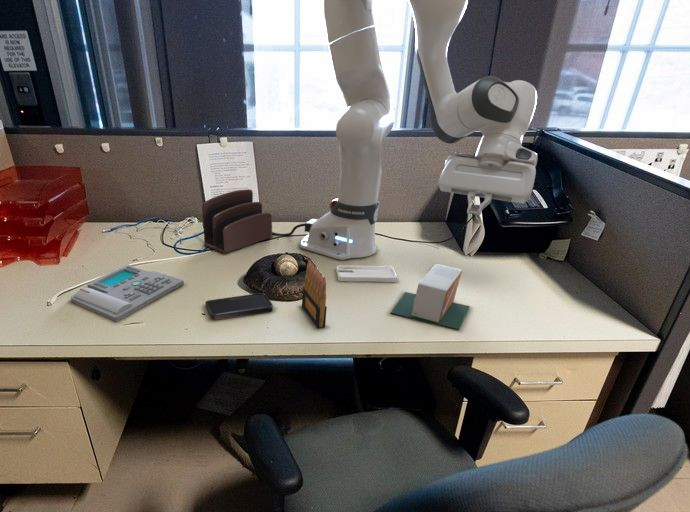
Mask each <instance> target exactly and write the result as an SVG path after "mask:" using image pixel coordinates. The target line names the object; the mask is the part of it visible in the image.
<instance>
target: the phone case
mask: <svg viewBox="0 0 690 512" xmlns="http://www.w3.org/2000/svg"><path fill="white" fill-rule="evenodd" d="M335 271H336V276H337V281H339V282H358V283H359V282H365V283H367V282H368V283H370V282H371V283H372V282H373V283H374V282H376V283H377V282H378V283H396V282H397V281H398V275H397V273H396V271H395V268H394V266H392V265H336V268H335ZM341 271H342V272H341Z"/></svg>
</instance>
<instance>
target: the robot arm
mask: <svg viewBox="0 0 690 512" xmlns="http://www.w3.org/2000/svg"><path fill="white" fill-rule="evenodd" d="M407 2H408V4H409V5H408V6H409V7H410V10H411V13H412V18H413V21H414V28H415V42H414V47H415V49H414V50H415V55H416V60H417V64H418V67H419V71H420V75H421V78H422V82H423V86H424V89H425V94H426V98H427V101H428V105H429V111H430V125H431V128H432V132H433V134H434V135H435V136H436V138H438V140H440V141H441V142H443V143H446V144H456V143H459V142H461V141H462V140H463V139H465V138H467V137H468V136H470V135H471V134H473V133H475V132H480V133H481V134H482V136H481V138H480V141H479V143H478V146H477V148H476V151H475V153H472V152H471V153H470V152H461V151H455V153H451V154H450V155H448V156H447V157H446V160H445V163H444V169H443V170H442V171H441V173H440V176H439V179H438V181H437V184H438V188H439V190H440V191H441V192H445V193H451V194H456V195H457V194H459V195H465V196H467V203H468V207H467V210H466V214H470V215H476V216H480V215H481V214H482V212H483V210H484V209H485V208H487V206H488V205H490V204H491V202H492V200H497V201H503V202H509V203H516V204H521V205H522V204H526V203H527V202H528V201H530V199H531V196H532V193H533V189H534V184H535V179H536V174H537V170H536V167H537V164H538V153H536V152H535V151H533V150H531V149H529V148H526V147H524V146H523V145H522V144H523V138H524V136H525V134H526V133H527V132H528V130H529V127H530V126H531V122H532V120H533V117H534V114H535V111H536V106H537V102H538V101H537V99H538V93H537V89H536V87H535V86H534V85H533V84H532V83H530V82H529V81H526V80H521V79H516V80H512V81H503V80H502V79H501V78H499V77H497V76H493V75H487V76H483V77H481V78H479V79H478V80H476V81H475V82H473V83H470V84H469V85H468V86H466V87H465V88H463V89H462V90H461V91H459V92H457V91H456V90H455V86H454V82H453V78H452V74H451V70H450V66H449V62H448V47H449V45H450V41H451V39H452V37H453V34H454V32H455V30H456V28H457V27H458V25H459V24H460V22H461V20H462V19H463V17H464V14H465V12H466V10H467V6H468V4H469V0H407ZM323 5H324V6H323V13H324V14H323V15H324V26H325V35H326V40H327V45H328V49H329V55H330V60H331V65H332V70H333V74H334V75H333V76H334V81H335V83H336V84H337V86H338V87H339V90H340V92H341V94H342V96H343V98H344V101H345V105H346V109H345V110H343V112H342V114H341V115H340V117H339V119H338V121H337V123H336V127H335V136H336V140H337V142H338V152H339V153H338V154H339V171H340V172H339V183H338V192H337V195H336V196H335V197H334V199H333V200H331V202H329V203H328V208H329V209H330V211H328V212H327V213H325V214H323V215H322V216H321V217H319V218H310V219H309V220H307V221H306V222H304V223H300V224H297V225H295V226H294V227H293V228H292V230H290V232H287V233H277V232H273V231H272V236H280V237H281V236H282V237H290V236H292V235H293V234H294V233H295V231H296V230H297V229H298V228H301V227H304V232H307V233H308V234H307V235H306V236H304V237H303V238H302V239H301V241H300V244H299V247H300V249H303V250H306V251H309V252H312V253H317V254H320V255H323V256H327V257H330V258H333V259H336V260H340V261H345V260H348V259H357V258H367V257H371V256H372V255H374V254H376V252H377V246H376V223H377V220H378V216H379V205H380V201H379V196H380V189H381V183H382V182H381V181H382V175H383V169H382V144H383V143H382V142H383V139H385V138H386V137H387V136H388V135H389V134H390V133H391V132H392V130H393V127H394V124H395V122H396V108H395V106H394V104H393V102H392V97H391V93H390V90H389V85H388V83H387V80H386V77H385V74H384V70H383V68H382V63H381V55H380V51H379V44H378V38H377V32H376V27H375V20H374V15H373V0H323ZM476 197H477V198H483V201H482V202H481V203H480V204H475V203H473V201H474V200H475V198H476Z"/></svg>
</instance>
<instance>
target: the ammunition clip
mask: <svg viewBox="0 0 690 512" xmlns="http://www.w3.org/2000/svg"><path fill="white" fill-rule="evenodd" d="M314 264H315V263H313V262H312V261H311V260H310V259H309V260H308V262H307V264H306V272H305V276H304V287H303V288H302V298H301V309H302V310H303V311H304V312H305V313H306V315H307V317H308V318H309V320H310V321H311V322H312V324H313V325H314V327H315V328H316V329H324V328H326V322H327V321H326V320H327V308H328V306H327V305H326V304H327V278H326V276H325V275H323V273H322V272H321V271H320V270H319V269H317V266H315V265H314Z"/></svg>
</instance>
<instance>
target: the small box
mask: <svg viewBox="0 0 690 512" xmlns="http://www.w3.org/2000/svg"><path fill="white" fill-rule="evenodd" d="M462 273H463V269H461V268H457V267H452V266H448V265H444V264H439V263H434V265H433V267H432V268H431V269H430V270H429V271H428V272H427V273H426V274H425V276H424V277H423V278H422V279H421V280H420V281H419V283H418V285H417V288H416V291H415V294H416V296H415V299H414V304H413V309H412V314H411V315H412V316H416V317H419V318H423V319H426V320H430V321H434V322H437V323H438V322H439V321H440V320H441V318H442V317H443V315H444V314H445V312H446V311H447V310H448V308H449V307H450V305H451V304H452V303H454V301H455V298H456V294H457V290H458V287H459V283H460V281H461V276H462Z"/></svg>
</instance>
